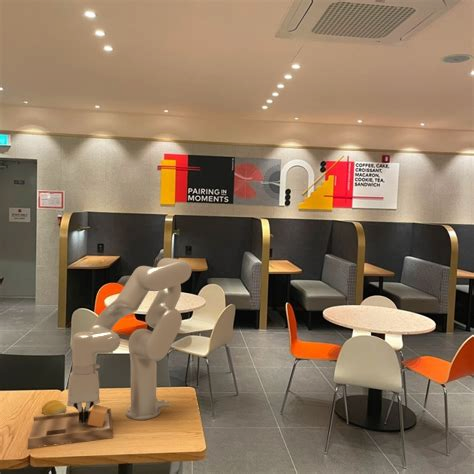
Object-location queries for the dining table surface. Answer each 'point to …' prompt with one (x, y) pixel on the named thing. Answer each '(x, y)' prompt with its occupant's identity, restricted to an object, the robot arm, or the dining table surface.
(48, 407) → the bread roll
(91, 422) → the orange block
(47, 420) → the box
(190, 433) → the dining table surface
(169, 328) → the robot arm
